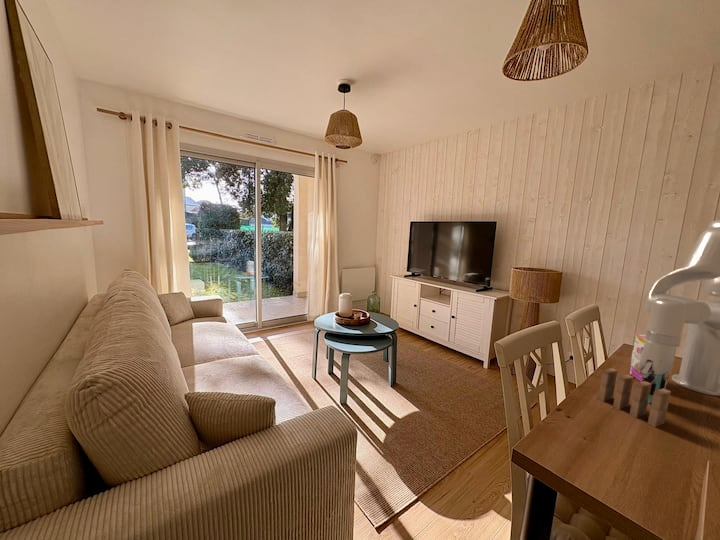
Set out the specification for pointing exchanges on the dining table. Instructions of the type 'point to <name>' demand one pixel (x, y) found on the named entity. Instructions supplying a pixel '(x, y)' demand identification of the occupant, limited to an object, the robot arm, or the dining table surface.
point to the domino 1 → (607, 384)
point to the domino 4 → (659, 407)
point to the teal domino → (658, 383)
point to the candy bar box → (638, 358)
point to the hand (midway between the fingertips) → (652, 390)
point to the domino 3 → (640, 399)
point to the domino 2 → (623, 391)
